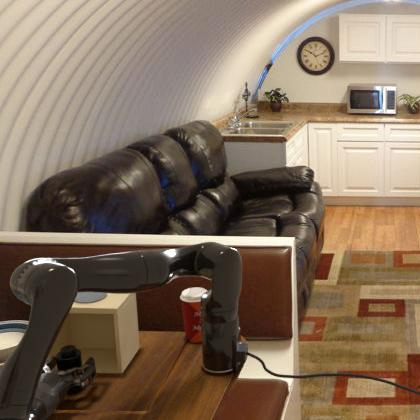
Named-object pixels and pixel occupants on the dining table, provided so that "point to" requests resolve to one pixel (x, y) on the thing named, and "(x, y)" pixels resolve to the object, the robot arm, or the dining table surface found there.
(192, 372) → the dining table surface
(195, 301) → the paper cup
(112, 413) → the dining table surface
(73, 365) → the pepper mill
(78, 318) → the cream hollow block
